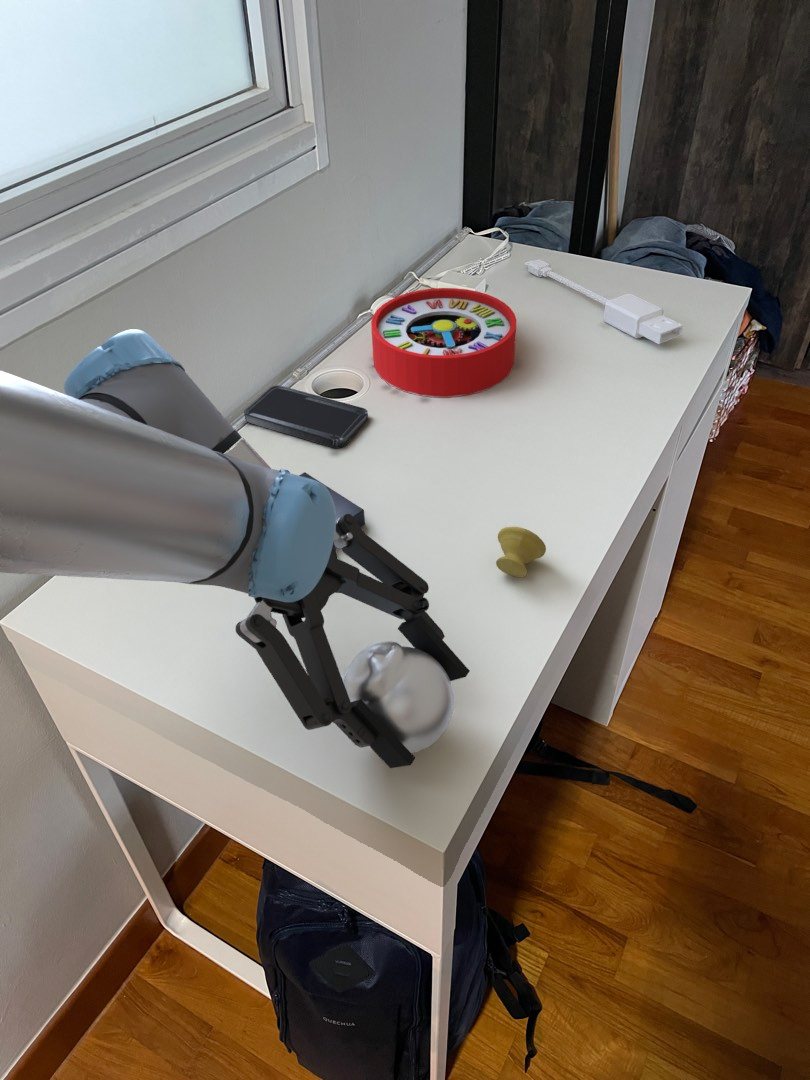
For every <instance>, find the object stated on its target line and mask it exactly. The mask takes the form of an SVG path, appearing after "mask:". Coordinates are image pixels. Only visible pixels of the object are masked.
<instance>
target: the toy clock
mask: <svg viewBox="0 0 810 1080" xmlns="http://www.w3.org/2000/svg"><path fill="white" fill-rule="evenodd" d="M370 326H371V327H370V329H371V343H372V358H373V360H372V361H373V367H374V370H375V373H376V374H377V375H378V377H380V379H381V380H383V381H384V382H385V383H387V384H388V385H390V386H392V387H393V388H395V389H397V390H399V391H403V392H405V393H408V394H411V395H412V394H413V395H417V396H421V397H423V396H424V397H429V398H432V397H433V398H453V397H463V396H468V395H472V394H476V393H480V392H483V391H486V390H488V389H490V388H493V387H494V386H496V385H498V384H499V383H501V382H502V381H503V380H505V379H506V378H507V377H508V376H509V374H510V373H511V372H512V371H513V368H514V366H515V353H516V337H517V317H516V313H515V312H514V311H513V310H512V308H511V307H510V306H509V305H508V304H507V303H505V302H504V301H502V300H500V299H499V298H497V297H495V296H493V295H490V294H488V293H484V292H481V291H477V290H473V289H472V290H471V289H466V288H456V287H435V288H434V287H433V288H427V289H418V290H415V291H409V292H407V293H403V294H401V295H398V296H396V297H394V298H392V299H389V300H388V301H386V302H384V303H383V304H382V305H381V306H380V307H378V308H377V309H376V311H375V312H374V314H373V315H372V317H371V321H370Z"/></svg>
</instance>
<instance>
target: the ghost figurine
mask: <svg viewBox="0 0 810 1080" xmlns="http://www.w3.org/2000/svg"><path fill="white" fill-rule="evenodd" d="M343 683H344V685H345V688H346V691H347V694H348V696H349V699H350V702H353V701H356V700H360V699H361V700H362V701H363V702H364V703H365V704H366V705H367V706H368V707H369V708H370V710H371V711H372V712H373V713H374V714H375V715H376V716H377V717H378V718H379V719H380V720H381V721H382V722H383V723H384V725H385V726H386V727H387V728H388V729H389V730H390V731H391V732H392V733H393V734H394V735H395V736H396V737H397V739H398V740H399V741H400V742H401V743H402V744H403V745H404V746H405V747H406V748H407V749H408V750H409V751H410V752H411V754H415V753H417V752H421V751H423V750H425V749H427V748H428V747H430V746H431V745H433V744H434V743H436V742H437V740H439V739H440V738H441V736H442V735H443V734H444V733H445V731H446V730H447V728H448V726H449V724H450V722H451V719H452V716H453V712H454V706H455V705H454V704H455V695H454V689H453V685H452V681H450V679H449V677H448V675H447V673H446V671H445V670H444V668H443V667H442V666H441V665H440V663H439V662H438V661H437V660H435V659H434V658H433V657H432V656H430V655H429V654H427V653H425V652H423V651H421V650H419V649H416V648H414V647H413V646H412V647H411V646H404V645H403V646H402V645H401V644H400V643H398V642H396V641H393V640H392V641H391V640H390V641H389V640H387V641H381V642H377V643H374V644H370V645H368V646H366V647H365V648H363V649H362V650H361V651H359V652H358V654H356V656H355V657H353V659H352V661H351V662H350V664H349V665H348V667H347V670H346V672H345V674H344V678H343Z"/></svg>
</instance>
